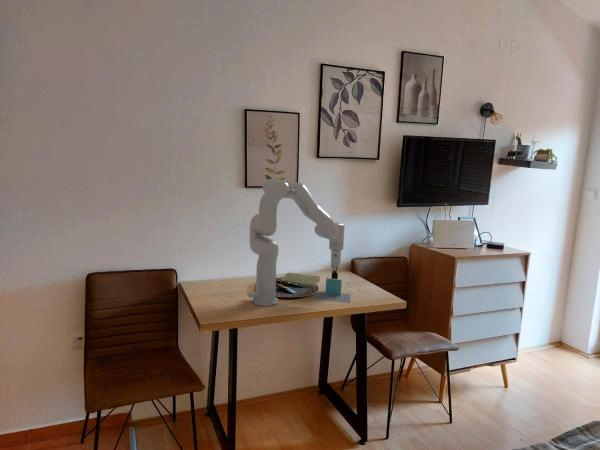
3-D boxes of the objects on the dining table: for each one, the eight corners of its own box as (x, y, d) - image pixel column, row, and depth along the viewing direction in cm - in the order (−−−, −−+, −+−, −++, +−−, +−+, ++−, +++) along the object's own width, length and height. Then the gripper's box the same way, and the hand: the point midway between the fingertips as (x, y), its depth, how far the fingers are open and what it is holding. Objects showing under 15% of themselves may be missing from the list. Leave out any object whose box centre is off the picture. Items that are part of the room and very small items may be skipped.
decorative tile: (286, 277, 255) (286, 271, 255) (319, 280, 251) (320, 274, 251) (278, 286, 237) (278, 280, 237) (314, 290, 233) (314, 283, 233)
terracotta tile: (325, 293, 224) (326, 279, 222) (325, 292, 225) (326, 278, 224) (340, 295, 223) (341, 280, 221) (340, 294, 224) (341, 279, 223)
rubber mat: (313, 301, 214) (313, 299, 214) (316, 292, 227) (316, 291, 227) (349, 304, 212) (350, 302, 212) (350, 295, 225) (350, 294, 225)
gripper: (342, 249, 219) (340, 284, 222) (343, 243, 233) (342, 276, 236) (328, 248, 220) (326, 283, 223) (330, 242, 234) (328, 275, 237)
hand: (334, 279), depth 229 cm, fingers closed
